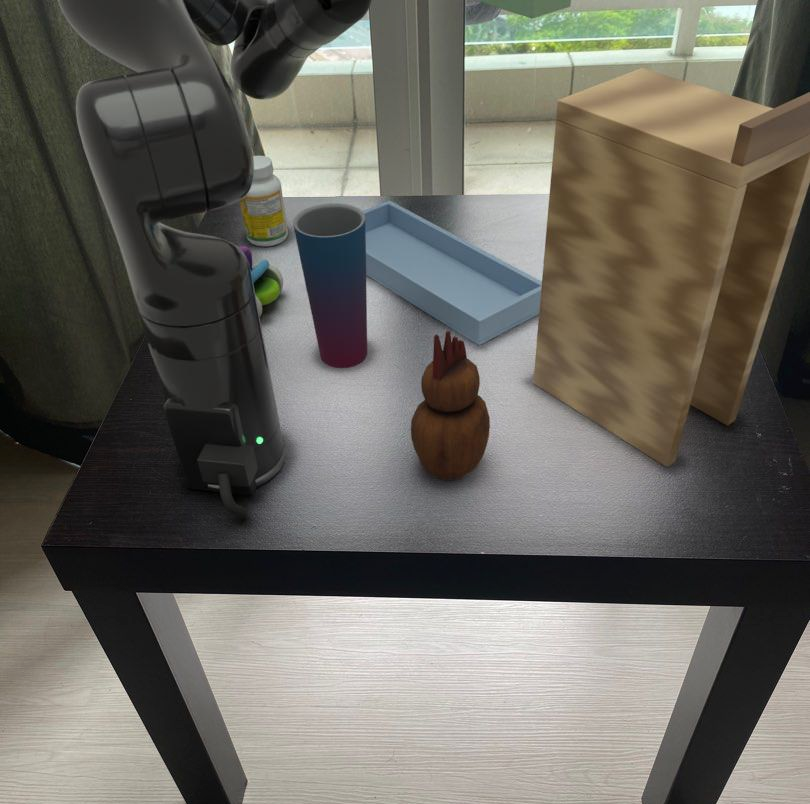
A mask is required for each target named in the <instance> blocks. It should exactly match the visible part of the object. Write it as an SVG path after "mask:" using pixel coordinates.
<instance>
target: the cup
mask: <svg viewBox="0 0 810 804" xmlns="http://www.w3.org/2000/svg"><path fill="white" fill-rule="evenodd" d="M362 211H363V210H362V209H360V208H358V207H356V206H354V205H351V204H348V203H340V202H339V203H337V202H333V203H332V202H331V203H321V204H317V205H312V206H310V207H307V208H305V209H303V210H301V211H300V212H298V213H297V214H296V215H295V216H294V219H293V221H292V227H293V230H294V235H295V240H296V246H297V249H298V254H299V260H300V264H301V270H302V274H303V279H304V284H305V289H306V293H307V298H308V303H309V308H310V313H311V318H312V321H313V328H314V331H315V337H316V341H317V346H318V351H319V357H320V359H321V361H322V362H323V363H324V364H325V365H327V366H328V367H333V368H337V369H345V368H352V367H355V366H357V365H359V364H361V363H362V362H364V361H365V359H366V358H367V357H368V311H367V310H368V305H367V304H368V303H367V302H368V301H367V300H368V299H367V298H368V297H367V275H366V228H365V215H364V213H363V212H362Z"/></svg>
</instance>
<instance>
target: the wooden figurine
mask: <svg viewBox="0 0 810 804" xmlns="http://www.w3.org/2000/svg"><path fill="white" fill-rule="evenodd" d="M432 353H433V356H432V357H433V358H432V361H430V363H429V364H427V365H426V367H425V369H424V371H423V374H422V376H421V383H420V388H421V393H422V396H423V398H424V400H423V401H421V402H420V403H419V404H418V405H417V406H416V409H415V411H414V413H413V416H412V418H411V419H410V420H411V422H410V438H411V443H412V446H413V449H414V451H415V454H416V456H417V458H418V461H419V463H420V465H421V467H422V468H423V469H424V470H425V472H427V474H428V475H429V476H431V477H434V478H436V479H438V480H443V481H451V480H457V479H458V480H459V479H461V478H464V477H465V476H467V475H469V474H471V473H472V472H473V471H474V470H475V469H476V468H477V467H478V465H479V464H480V463H481V461H482V460H483V457H484V455H485V453H486V449H487V447H488V446H487V445H488V443H489V442H488V441H489V439H490V428H491V422H490V421H491V419H490V418H491V417H490V414H489V410H488V407H487V402H486V401H485V400H484V399H483V398H482V397H481V396H480V394H479V391H480V386H481V385H480V384H481V380H480V378H481V377H480V372H479V369H478V366H477V364H475V363H474V362H473V361H472V360H471V359H469V358H467V357H468V355H467V351H466V345H465V341H464V340H461V339H458V337H457V336H453V337H451V331H450V330H446V331H445V336H444V343H443V347H442V343H441V340H440V337H439V334H434V335H433V352H432Z"/></svg>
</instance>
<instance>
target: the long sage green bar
mask: <svg viewBox="0 0 810 804" xmlns="http://www.w3.org/2000/svg"><path fill="white" fill-rule="evenodd" d="M475 1H476V2H479V3H482V4H485V5H487V6H491V7H494V8H497V9H501V10H503V11H507V12H511V13H513V14H515V15H519V16H522V17H526V18H528V19H532V20H533V19H535V18H540V17H542V16H545V15H549V14H552V13H554V12H558V11H562V10H564V9H567V8H570V7H571V4H572V0H474V2H475Z"/></svg>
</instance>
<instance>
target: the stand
mask: <svg viewBox="0 0 810 804" xmlns="http://www.w3.org/2000/svg"><path fill="white" fill-rule="evenodd" d="M553 137H554V139H553V150H552V151H553V152H552V161H551V171H550V172H551V173H550V184H549V194H548V207H547V219H546V229H545V230H546V231H545V240H544V241H545V242H544V245H545V246H544V253H543V265H542V276H541V281H542V287H541V298H540V310H539V314H538V322H537V335H536V344H535V345H536V346H535V356H534V357H535V358H534V369H533V370H534V371H533V381H532V383H533V385H535V386H536V387H538V388H540V389H542V390H543V391H545V392H547V393H548V394H549V395H551V396H552V397H554V398H555V399H557V400H559V401H560V402H561V403H564V404H565V405H567V406H568V407H570V408H572V409H573V410H575V411H576V412H578V413H580V414H581V415H583V416H584V417H585V418H587V419H590V420H591V421H592V422H594V423H596V424H597V425H598V426H600V427H601V428H603V429H605V430H607V431H608V432H610V433H612V434H613V435H615V436H616V437H617V438H619V439H621V440H622V441H624V442H626V443H627V444H629V445H631V446H632V447H634V448H636V449H637V450H639V451H640V452H642V453H643V454H645V455H646V456H648V457H650V458H651V459H653V460H655V461H656V462H657V463H659V464H661V465H662V466H664V467H666V468H668V467H670V466H672V465H673V464H675V462H676V460H677V456H678V452H679V450H680V445H681V441H682V438H683V433H684V431H685V425H686V423H687V419H688V414H689V411H690V406H691V407H693V408H695V409H697V410H699V411H701V412H702V413H704V414H705V415H708V416H709V417H711V418H713V419H715V420H716V421H718V422H720V423H721V424H723V425H725V426H730V425H731V424H732V423H734V422H735V421H736V419H737V416H738V414H739V413H738V412H739V409H740V406H741V403H742V401H743V397H744V394H745V391H746V387H747V384H748V380H749V377H750V374H751V371H752V368H753V365H754V362H755V358H756V355H757V353H758V352H757V351H758V349H759V345H760V343H761V339H762V336H763V333H764V330H765V327H766V324H767V320H768V316H769V314H770V311H771V307H772V304H773V301H774V298H775V295H776V291H777V288H778V285H779V281H780V278H781V276H782V272H783V269H784V266H785V263H786V260H787V257H788V253H789V249H790V246H791V243H792V240H793V237H794V234H795V230H796V229H797V228H796V227H797V224H798V221H799V218H800V214H801V212H802V208H803V205H804V201H805V199H806V195H807V192H808V189H809V186H810V91H809V92H807V93H805V94H802V95H801V96H798V97H796V98H793V99H792V100H790V101H789V100H788V101H787V102H784V103H783V104H781V105H778V106H777V107H774V108H773V107H769V106H766V105H764V104H760V103H757V102H754V101H750V100H747V99H744V98H741V97H737V96H734V95H731V94H728V93H725V92H721V91H718V90H715V89H712V88H708V87H706V86H702V85H699V84H696V83H693V82H689V81H686V80H683V79H679V78H676V77H673V76H670V75H667V74H664V73H660V72H657V71H654V70H651V69H647V68H644V67H640V68H638V69H635V70H633V71H631V72H628V73H625V74H622V75H620V76H617V77H614V78H612V79H610V80H607V81H603V82H601V83H598V84H596V85H593V86H591V87H588V88H586V89H582V90H581V91H578V92H575V93H573V94H570V95H568V96H565V97H562V98H560V99H558V100H557V104H556V117H555V127H554V136H553Z"/></svg>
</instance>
